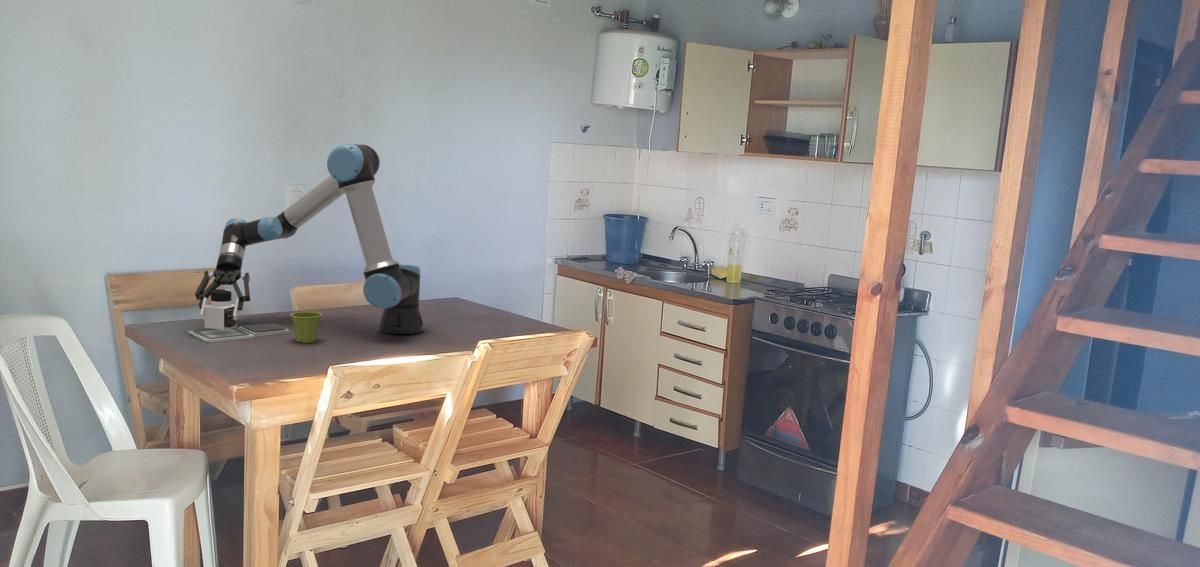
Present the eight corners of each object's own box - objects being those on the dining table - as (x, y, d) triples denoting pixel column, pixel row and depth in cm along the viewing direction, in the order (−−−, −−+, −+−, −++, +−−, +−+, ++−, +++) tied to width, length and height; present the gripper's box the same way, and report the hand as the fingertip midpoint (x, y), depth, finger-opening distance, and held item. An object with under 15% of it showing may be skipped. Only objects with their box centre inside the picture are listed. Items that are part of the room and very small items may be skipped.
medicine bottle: (224, 330, 288) (224, 292, 287) (203, 328, 290) (204, 290, 288) (237, 326, 295) (238, 289, 293) (217, 324, 297) (217, 287, 295)
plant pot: (292, 345, 286) (293, 317, 285) (287, 338, 295) (288, 312, 293) (323, 343, 291) (324, 316, 290) (318, 337, 299) (318, 311, 298)
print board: (254, 337, 293) (254, 334, 293) (206, 342, 282) (206, 339, 282) (234, 329, 303) (234, 325, 303) (187, 333, 293) (187, 330, 293)
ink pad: (289, 333, 302) (289, 329, 302) (254, 336, 294) (254, 332, 294) (273, 326, 311) (273, 322, 311) (238, 329, 302) (238, 325, 302)
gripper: (266, 268, 307) (256, 325, 294) (197, 265, 303) (184, 322, 290) (263, 254, 301) (253, 311, 288) (193, 251, 297) (179, 309, 284)
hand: (218, 317), depth 289 cm, fingers closed on medicine bottle, 9 cm apart
